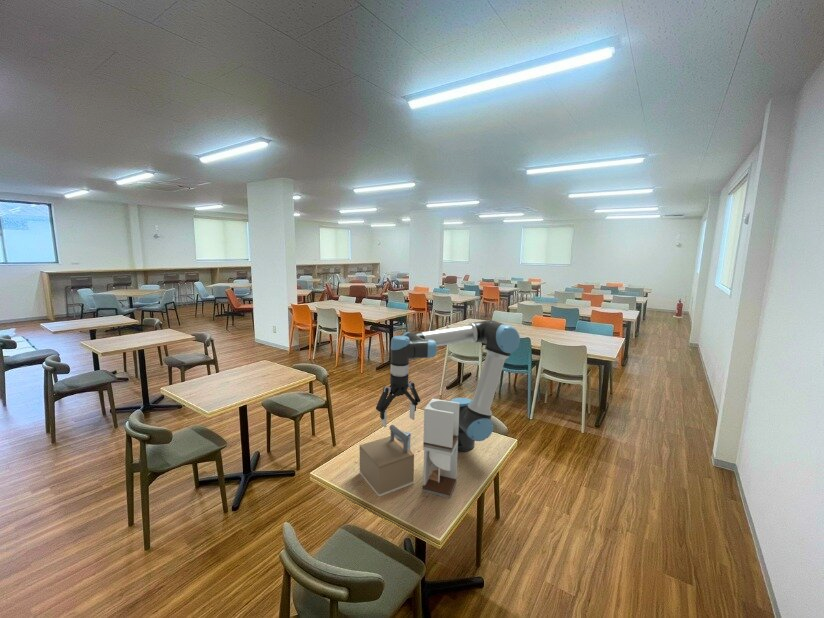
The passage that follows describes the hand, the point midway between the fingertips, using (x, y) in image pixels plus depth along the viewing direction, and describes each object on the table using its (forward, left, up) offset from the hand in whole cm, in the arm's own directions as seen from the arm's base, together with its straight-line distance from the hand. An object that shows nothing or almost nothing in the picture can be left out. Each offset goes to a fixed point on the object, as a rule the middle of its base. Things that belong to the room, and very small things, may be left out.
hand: (398, 422), depth 151 cm
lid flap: (+6, 0, -12) cm, 13 cm away
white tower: (-10, +16, -24) cm, 31 cm away
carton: (+6, 0, -24) cm, 24 cm away
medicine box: (-11, -16, -24) cm, 31 cm away
